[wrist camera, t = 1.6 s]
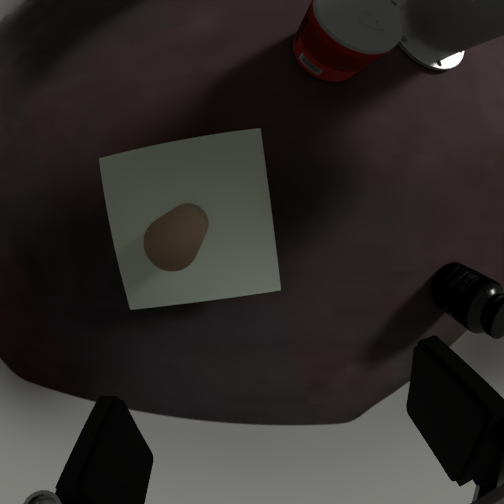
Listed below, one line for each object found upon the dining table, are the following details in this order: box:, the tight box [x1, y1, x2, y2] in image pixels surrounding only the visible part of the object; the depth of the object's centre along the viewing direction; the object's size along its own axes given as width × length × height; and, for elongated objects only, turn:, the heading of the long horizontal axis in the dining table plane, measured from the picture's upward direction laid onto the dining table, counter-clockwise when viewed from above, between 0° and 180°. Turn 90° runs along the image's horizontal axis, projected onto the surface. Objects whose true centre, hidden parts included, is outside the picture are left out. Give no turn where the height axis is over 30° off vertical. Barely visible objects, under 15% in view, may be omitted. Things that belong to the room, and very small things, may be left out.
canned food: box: [293, 0, 403, 82], centre depth 24 cm, size 8×8×11 cm
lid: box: [99, 128, 281, 310], centre depth 21 cm, size 13×13×8 cm
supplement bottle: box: [432, 262, 504, 339], centre depth 31 cm, size 7×7×12 cm
